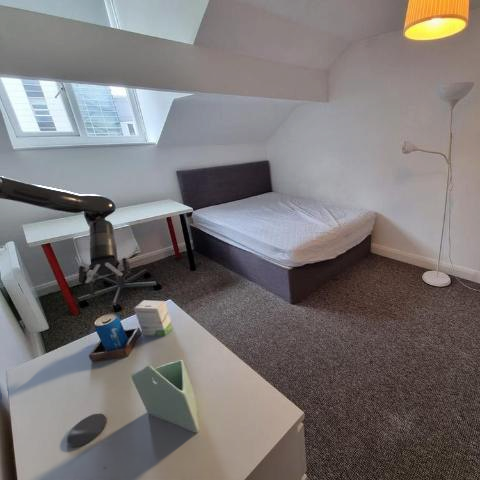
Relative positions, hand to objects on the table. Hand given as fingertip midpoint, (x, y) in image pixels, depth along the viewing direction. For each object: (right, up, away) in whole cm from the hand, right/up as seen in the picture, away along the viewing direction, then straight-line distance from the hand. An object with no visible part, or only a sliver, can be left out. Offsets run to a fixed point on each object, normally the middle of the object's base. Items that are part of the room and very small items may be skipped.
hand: (106, 290), depth 92 cm
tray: (+5, -19, -1) cm, 20 cm away
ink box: (+14, -16, +6) cm, 22 cm away
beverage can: (+5, -19, -1) cm, 20 cm away
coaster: (+16, -30, -26) cm, 42 cm away
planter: (+37, -27, -21) cm, 51 cm away
